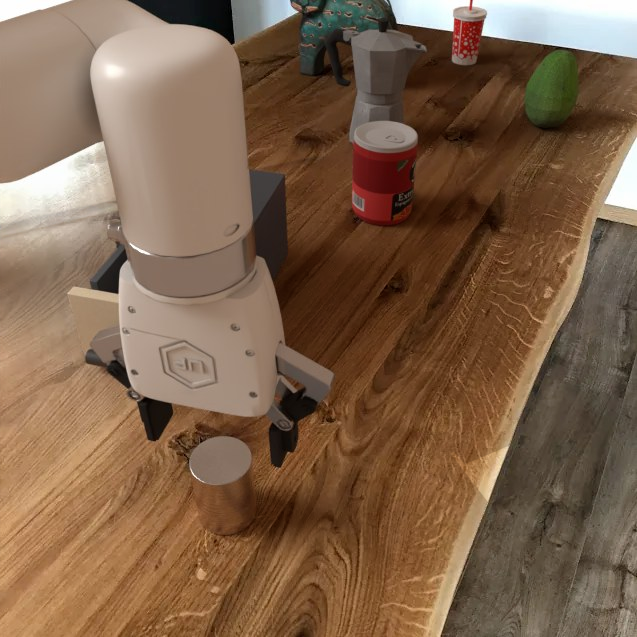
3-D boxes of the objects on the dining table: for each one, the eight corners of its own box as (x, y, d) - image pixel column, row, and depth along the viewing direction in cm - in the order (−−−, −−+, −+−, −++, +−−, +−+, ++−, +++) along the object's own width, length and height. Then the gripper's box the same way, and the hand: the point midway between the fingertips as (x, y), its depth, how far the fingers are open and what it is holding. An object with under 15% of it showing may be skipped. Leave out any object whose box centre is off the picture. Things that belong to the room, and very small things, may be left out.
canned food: (403, 231, 93) (409, 152, 86) (343, 220, 95) (345, 141, 88) (418, 202, 98) (425, 125, 91) (361, 192, 100) (364, 116, 93)
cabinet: (247, 329, 78) (240, 245, 71) (129, 308, 81) (111, 225, 74) (288, 253, 89) (285, 173, 82) (183, 237, 92) (171, 159, 85)
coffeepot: (427, 133, 114) (439, 14, 103) (407, 159, 107) (417, 35, 96) (337, 116, 119) (338, 0, 108) (312, 140, 113) (311, 19, 101)
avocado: (580, 130, 115) (599, 53, 107) (541, 140, 112) (557, 62, 105) (547, 111, 120) (562, 37, 113) (508, 120, 118) (521, 45, 110)
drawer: (187, 419, 67) (175, 347, 61) (64, 393, 69) (41, 321, 64) (252, 302, 80) (246, 234, 74) (146, 284, 83) (133, 217, 77)
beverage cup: (486, 60, 138) (497, -19, 129) (469, 69, 135) (479, -11, 126) (459, 52, 141) (468, -25, 132) (441, 61, 138) (449, -18, 129)
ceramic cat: (288, 74, 133) (285, -46, 120) (306, 62, 138) (304, -54, 125) (388, 94, 126) (395, -31, 113) (403, 81, 130) (411, -40, 117)
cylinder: (208, 544, 58) (200, 493, 54) (190, 498, 61) (181, 447, 57) (265, 522, 59) (261, 471, 55) (244, 479, 63) (239, 428, 59)
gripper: (30, 262, 43) (91, 455, 54) (315, 308, 39) (319, 504, 50) (93, 199, 48) (137, 385, 59) (347, 234, 45) (345, 425, 55)
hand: (220, 439), depth 54 cm, fingers open, 9 cm apart
